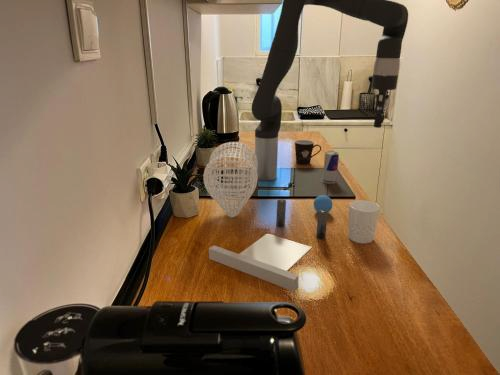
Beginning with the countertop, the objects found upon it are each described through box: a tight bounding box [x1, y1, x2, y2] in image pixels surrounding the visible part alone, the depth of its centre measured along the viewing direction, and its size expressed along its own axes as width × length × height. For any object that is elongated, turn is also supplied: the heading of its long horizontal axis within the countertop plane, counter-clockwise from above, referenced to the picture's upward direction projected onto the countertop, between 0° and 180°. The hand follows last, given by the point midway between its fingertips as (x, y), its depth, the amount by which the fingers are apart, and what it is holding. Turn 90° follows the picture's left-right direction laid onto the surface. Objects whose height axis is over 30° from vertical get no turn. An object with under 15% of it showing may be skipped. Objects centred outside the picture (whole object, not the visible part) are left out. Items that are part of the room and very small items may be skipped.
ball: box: [313, 194, 333, 213], centre depth 122 cm, size 6×6×6 cm
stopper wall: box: [208, 245, 300, 292], centre depth 90 cm, size 24×2×3 cm, turn 56°
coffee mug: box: [294, 139, 322, 166], centre depth 174 cm, size 12×9×10 cm
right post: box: [315, 210, 329, 240], centre depth 106 cm, size 3×3×8 cm
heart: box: [202, 141, 258, 218], centre depth 116 cm, size 28×16×22 cm, turn 179°
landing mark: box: [239, 233, 313, 272], centre depth 100 cm, size 14×14×1 cm
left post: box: [275, 198, 287, 229], centre depth 113 cm, size 3×3×8 cm
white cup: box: [347, 199, 381, 245], centre depth 105 cm, size 8×8×10 cm
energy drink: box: [322, 150, 340, 185], centre depth 150 cm, size 5×5×12 cm
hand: (378, 124), depth 124 cm, fingers open, 8 cm apart
